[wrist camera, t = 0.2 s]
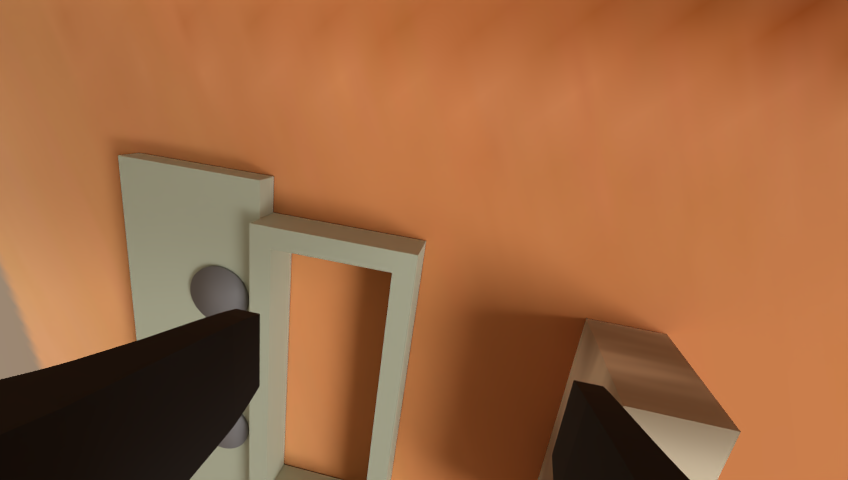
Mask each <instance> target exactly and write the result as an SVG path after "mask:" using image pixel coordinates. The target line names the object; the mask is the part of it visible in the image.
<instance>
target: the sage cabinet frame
mask: <svg viewBox="0 0 848 480" xmlns="http://www.w3.org/2000/svg"><path fill="white" fill-rule="evenodd" d="M118 161H119V171H120V181H121V191H122V200H123V210H124V220H125V230H126V240H127V250H128V259H129V269H130V279H131V289H132V299H133V309H134V319H135V328H136V338H137V341H138V340H141V339H144V338H147V337H149V336H152V335H155V334H158V333H161V332H164V331H167V330H170V329H173V328H176V327H179V326H182V325H185V324H188V323H190V322H193V321H196V320H199V319H202V318H205V317H208V316H212V315H215V314H218V313H221V312H225V311H229V310H233V309H240V310H245V311H249V312H254V313H259V314H260V387H259V388H258V390H257V392H256V393H255V395H254V396H253V398H252V400H251V401H250V403H249V404H248V406H247V408H246V409H245V411H244V412H243V414H242V415H241V417H240V418H239V420H238V421H237V423H236V424H235V426H234V427H233V428H232V429H231V431H230V432H229V433H228V434H227V435H226V437H225V438H224V439H223V440H222V442H221V443H220V444H219V445H218V446H217V448H216V449H215V450H214V451H213V452H212V454H211V455H210V456H209V457H208V458H207V460H206V461H205V462H204V463H203V464H202V466H201V467H200V468H199V469H198V470H197V472H196V473H195V474H194V475H193V476H192V477H191V479H190V480H341V479H338V478H334V477H330V476H326V475H322V474H319V473H315V472H311V471H307V470H303V469H300V468H296V467H292V466H288V465H284V448H285V420H286V393H287V365H288V337H289V309H290V281H291V253H294V254H299V255H304V256H309V257H314V258H319V259H324V260H329V261H334V262H339V263H344V264H349V265H355V266H360V267H365V268H370V269H375V270H380V271H385V272H390V273H392V277H391V285H390V293H389V302H388V310H387V318H386V326H385V334H384V342H383V351H382V359H381V367H380V375H379V383H378V391H377V400H376V408H375V416H374V424H373V432H372V440H371V449H370V457H369V465H368V473H367V480H391V476H392V469H393V462H394V455H395V449H396V442H397V435H398V428H399V421H400V415H401V408H402V401H403V394H404V388H405V381H406V374H407V367H408V360H409V354H410V347H411V340H412V333H413V327H414V320H415V313H416V306H417V300H418V293H419V286H420V279H421V272H422V266H423V259H424V252H425V245H426V241H424V240H418V239H413V238H408V237H402V236H397V235H391V234H386V233H381V232H375V231H370V230H365V229H359V228H354V227H349V226H343V225H338V224H333V223H327V222H322V221H316V220H311V219H306V218H300V217H295V216H290V215H284V214H279V213H274V212H273V200H274V176H269V175H263V174H258V173H252V172H246V171H240V170H235V169H229V168H223V167H218V166H212V165H206V164H201V163H195V162H189V161H183V160H178V159H172V158H166V157H161V156H155V155H149V154H144V153H133V154H124V155H118Z"/></svg>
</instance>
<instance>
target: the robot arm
mask: <svg viewBox="0 0 848 480" xmlns="http://www.w3.org/2000/svg"><path fill="white" fill-rule="evenodd" d="M259 387H260V314H259V313H254V312H249V311H245V310H240V309H233V310H229V311H225V312H221V313H218V314H215V315H212V316H208V317H205V318H202V319H199V320H196V321H193V322H190V323H188V324H185V325H182V326H179V327H176V328H173V329H170V330H167V331H164V332H161V333H158V334H155V335H152V336H149V337H147V338H144V339H141V340H138V341H135V342H132V343H128V344H125V345H122V346H119V347H115V348H112V349H109V350H106V351H103V352H99V353H96V354H93V355H90V356H87V357H83V358H80V359H77V360H74V361H70V362H67V363H63V364H60V365H56V366H52V367H49V368H45V369H41V370H37V371H33V372H30V373H25V374H21V375H17V376H13V377H9V378H5V379H1V380H0V480H190V479H191V477H192V476H193V475H194V474H195V473H196V472H197V470H198V469H199V468H200V467H201V466H202V464H203V463H204V462H205V461H206V460H207V458H208V457H209V456H210V455H211V454H212V452H213V451H214V450H215V449H216V448H217V446H218V445H219V444H220V443H221V442H222V440H223V439H224V438H225V437H226V435H227V434H228V433H229V432H230V431H231V429H232V428H233V427H234V426H235V424H236V423H237V421H238V420H239V418H240V417H241V415H242V414H243V412H244V411H245V409H246V408H247V406H248V404H249V403H250V401H251V400H252V398H253V396H254V395H255V393H256V392H257V390H258V388H259ZM552 468H553V480H690V479H689V478H688V477H687V476H686V475H685V474H684V473H683V472H682V471H681V470H680V469H679V468H678V467H677V466H676V465H675V464H674V462H673V461H672V460H671V459H670V458H669V457H668V456H667V455H666V454H665V453H664V452H663V451H662V450H661V448H660V447H659V446H658V445H657V444H656V443H655V442H654V441H653V440H652V439H651V438H650V436H649V435H648V434H647V433H646V432H645V431H644V430H643V429H642V428H641V426H640V425H639V424H638V423H637V422H636V421H635V420H634V419H633V418H632V416H631V415H630V414H629V413H628V412H627V411H626V410H625V409H624V408H623V406H622V405H621V404H620V403H619V402H618V401H617V400H616V399H615V398H614V397H613V396H612V395H611V393H610V392H609V391H608V390H607V389H606V388H605V387H604V386H600V385H595V384H590V383H585V382H581V381H576V380H574V381H573V384H572V388H571V391H570V395H569V398H568V401H567V405H566V408H565V412H564V415H563V418H562V422H561V425H560V429H559V432H558V435H557V439H556V442H555V446H554V449H553V452H552Z"/></svg>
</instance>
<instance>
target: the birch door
mask: <svg viewBox="0 0 848 480" xmlns="http://www.w3.org/2000/svg"><path fill="white" fill-rule="evenodd" d="M574 380H576V381H581V382H585V383H590V384H595V385H600V386H604V387H605V388H606V389H607V390H608V391H609V392H610V393H611V395H612V396H613V397H614V398H615V399H616V400H617V401H618V402H619V403H620V404H621V405H622V406H623V408H624V409H625V410H626V411H627V412H628V413H629V414H630V415H631V416H632V418H633V419H634V420H635V421H636V422H637V423H638V424H639V425H640V426H641V428H642V429H643V430H644V431H645V432H646V433H647V434H648V435H649V436H650V438H651V439H652V440H653V441H654V442H655V443H656V444H657V445H658V446H659V447H660V448H661V450H662V451H663V452H664V453H665V454H666V455H667V456H668V457H669V458H670V459H671V460H672V461H673V462H674V464H675V465H676V466H677V467H678V468H679V469H680V470H681V471H682V472H683V473H684V474H685V475H686V476H687V477H688V478H689V479H690V480H717V479H718V477H719V475H720V473H721V471H722V469H723V467H724V465H725V463H726V461H727V459H728V457H729V455H730V453H731V451H732V449H733V447H734V444H735V442H736V440H737V438H738V436H739V434H740V430H739V429H738V428H737V426H736V425H735V424H734V422H733V421H732V420H731V418H730V417H729V416H728V415H727V413H726V412H725V411H724V409H723V408H722V407H721V405H720V404H719V403H718V401H717V400H716V399H715V397H714V396H713V395H712V393H711V392H710V391H709V389H708V388H707V387H706V385H705V384H704V383H703V381H702V380H701V379H700V377H699V376H698V375H697V374H696V372H695V371H694V370H693V368H692V367H691V366H690V364H689V363H688V362H687V360H686V359H685V358H684V356H683V355H682V354H681V352H680V351H679V350H678V348H677V347H676V346H675V344H674V343H673V342H672V340H671V339H670V338H669V337H668V335H667V334H663V333H658V332H653V331H648V330H643V329H638V328H633V327H628V326H623V325H618V324H613V323H608V322H603V321H598V320H593V319H588V318H586V321H585V324H584V327H583V331H582V334H581V337H580V341H579V344H578V347H577V351H576V354H575V357H574V361H573V364H572V367H571V371H570V374H569V377H568V381H567V384H566V387H565V391H564V394H563V397H562V401H561V404H560V407H559V411H558V414H557V417H556V421H555V424H554V427H553V431H552V434H551V437H550V441H549V444H548V447H547V451H546V454H545V457H544V461H543V464H542V467H541V471H540V474H539V477H538V480H553V468H552V452H553V449H554V446H555V442H556V439H557V435H558V432H559V429H560V425H561V422H562V418H563V415H564V412H565V408H566V405H567V401H568V398H569V395H570V391H571V388H572V384H573V381H574Z"/></svg>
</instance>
